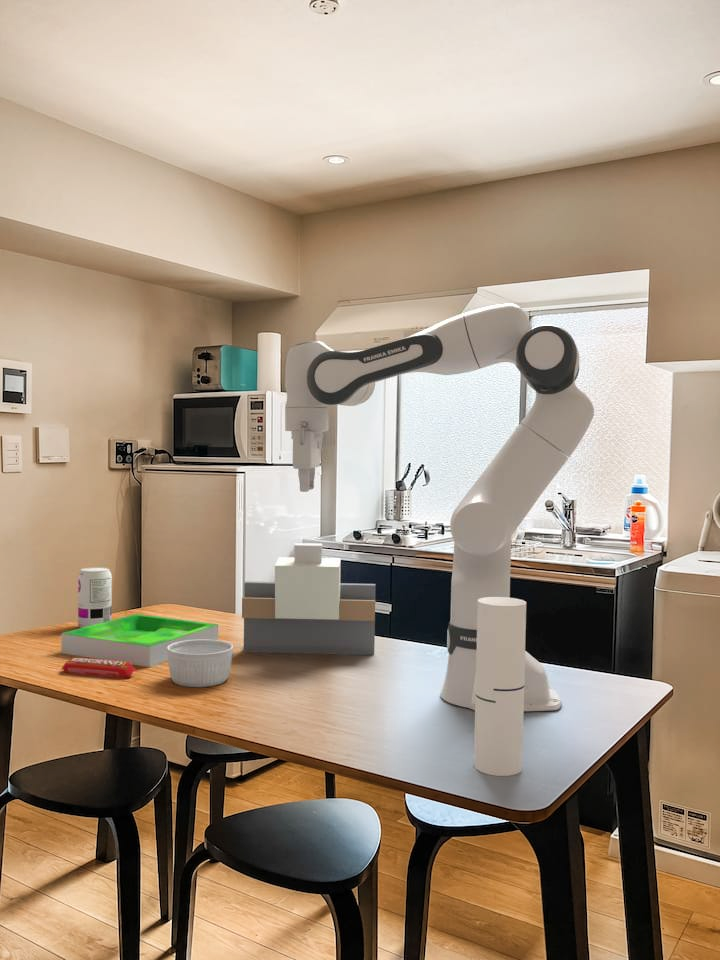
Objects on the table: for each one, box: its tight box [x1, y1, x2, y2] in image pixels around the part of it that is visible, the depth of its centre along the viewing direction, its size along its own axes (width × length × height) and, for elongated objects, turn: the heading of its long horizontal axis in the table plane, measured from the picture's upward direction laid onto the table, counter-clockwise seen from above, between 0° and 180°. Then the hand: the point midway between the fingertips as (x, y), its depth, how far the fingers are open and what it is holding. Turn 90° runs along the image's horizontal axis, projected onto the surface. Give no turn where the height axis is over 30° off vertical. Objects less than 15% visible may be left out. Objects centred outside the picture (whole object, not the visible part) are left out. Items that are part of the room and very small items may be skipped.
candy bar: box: [61, 657, 137, 679], centre depth 171 cm, size 16×4×3 cm, turn 76°
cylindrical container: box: [473, 597, 527, 777], centre depth 124 cm, size 7×7×25 cm
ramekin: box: [167, 639, 234, 688], centre depth 168 cm, size 13×13×7 cm
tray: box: [60, 613, 219, 668], centre depth 193 cm, size 25×25×5 cm
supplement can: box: [77, 566, 113, 629], centre depth 214 cm, size 8×8×15 cm
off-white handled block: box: [274, 542, 342, 620], centre depth 185 cm, size 14×7×16 cm, turn 89°
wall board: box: [241, 580, 376, 656], centre depth 192 cm, size 30×9×16 cm, turn 89°
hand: (307, 490), depth 170 cm, fingers open, 8 cm apart
